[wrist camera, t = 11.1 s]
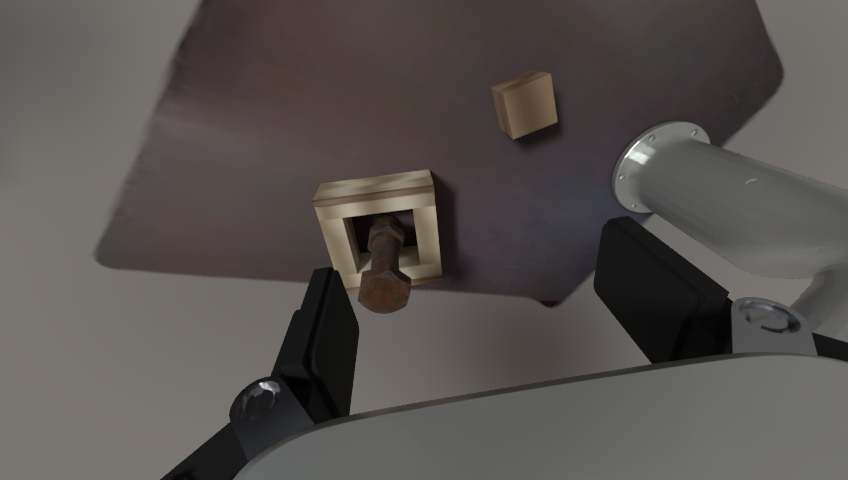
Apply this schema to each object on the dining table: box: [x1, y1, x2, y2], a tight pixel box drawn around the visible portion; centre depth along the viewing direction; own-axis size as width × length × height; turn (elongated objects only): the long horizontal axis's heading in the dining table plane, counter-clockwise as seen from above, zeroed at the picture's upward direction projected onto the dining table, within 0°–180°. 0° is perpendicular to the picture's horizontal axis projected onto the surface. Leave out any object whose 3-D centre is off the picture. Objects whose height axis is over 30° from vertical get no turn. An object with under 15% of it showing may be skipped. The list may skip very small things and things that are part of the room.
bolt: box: [358, 215, 411, 314], centre depth 39 cm, size 6×5×15 cm
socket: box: [312, 170, 443, 294], centre depth 43 cm, size 14×14×6 cm
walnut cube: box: [490, 70, 558, 139], centre depth 36 cm, size 5×5×5 cm
